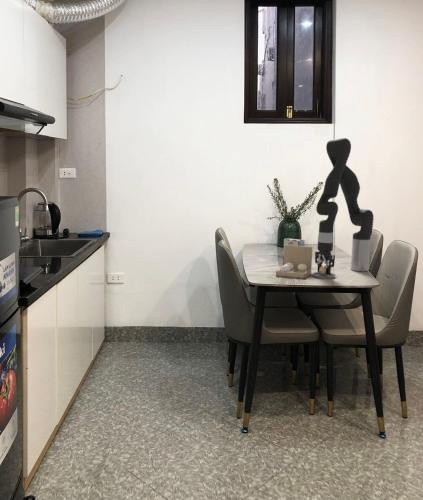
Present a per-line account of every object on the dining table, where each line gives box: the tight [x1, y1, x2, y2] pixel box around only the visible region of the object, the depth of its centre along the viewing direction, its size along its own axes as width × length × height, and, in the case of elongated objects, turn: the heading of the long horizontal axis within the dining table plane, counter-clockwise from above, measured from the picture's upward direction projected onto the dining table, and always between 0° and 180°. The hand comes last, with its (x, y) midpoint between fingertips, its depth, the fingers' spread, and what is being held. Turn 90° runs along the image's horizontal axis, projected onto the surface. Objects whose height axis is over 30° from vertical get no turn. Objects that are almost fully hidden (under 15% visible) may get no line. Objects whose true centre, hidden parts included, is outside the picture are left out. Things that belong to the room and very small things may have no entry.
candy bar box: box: [282, 238, 305, 266], centre depth 263 cm, size 11×5×16 cm, turn 40°
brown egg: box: [319, 265, 327, 275], centre depth 243 cm, size 5×5×5 cm
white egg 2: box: [285, 262, 294, 270], centre depth 252 cm, size 5×5×5 cm
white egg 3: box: [297, 264, 307, 271], centre depth 249 cm, size 5×5×5 cm
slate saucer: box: [311, 271, 336, 280], centre depth 244 cm, size 11×11×1 cm
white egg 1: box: [280, 264, 291, 272], centre depth 245 cm, size 5×5×5 cm
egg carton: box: [275, 244, 313, 280], centre depth 247 cm, size 15×15×14 cm
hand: (323, 273), depth 243 cm, fingers open, 6 cm apart
